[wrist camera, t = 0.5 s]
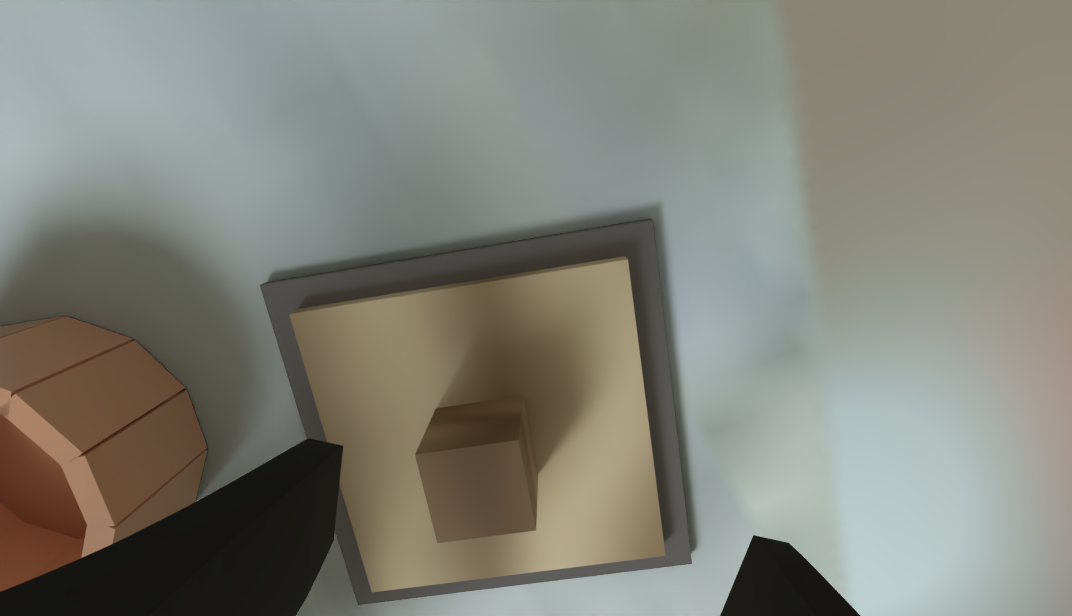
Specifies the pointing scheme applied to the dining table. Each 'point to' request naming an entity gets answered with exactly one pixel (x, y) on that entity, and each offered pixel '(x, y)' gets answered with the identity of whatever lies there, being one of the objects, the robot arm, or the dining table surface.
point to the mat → (490, 263)
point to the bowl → (86, 444)
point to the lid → (489, 424)
